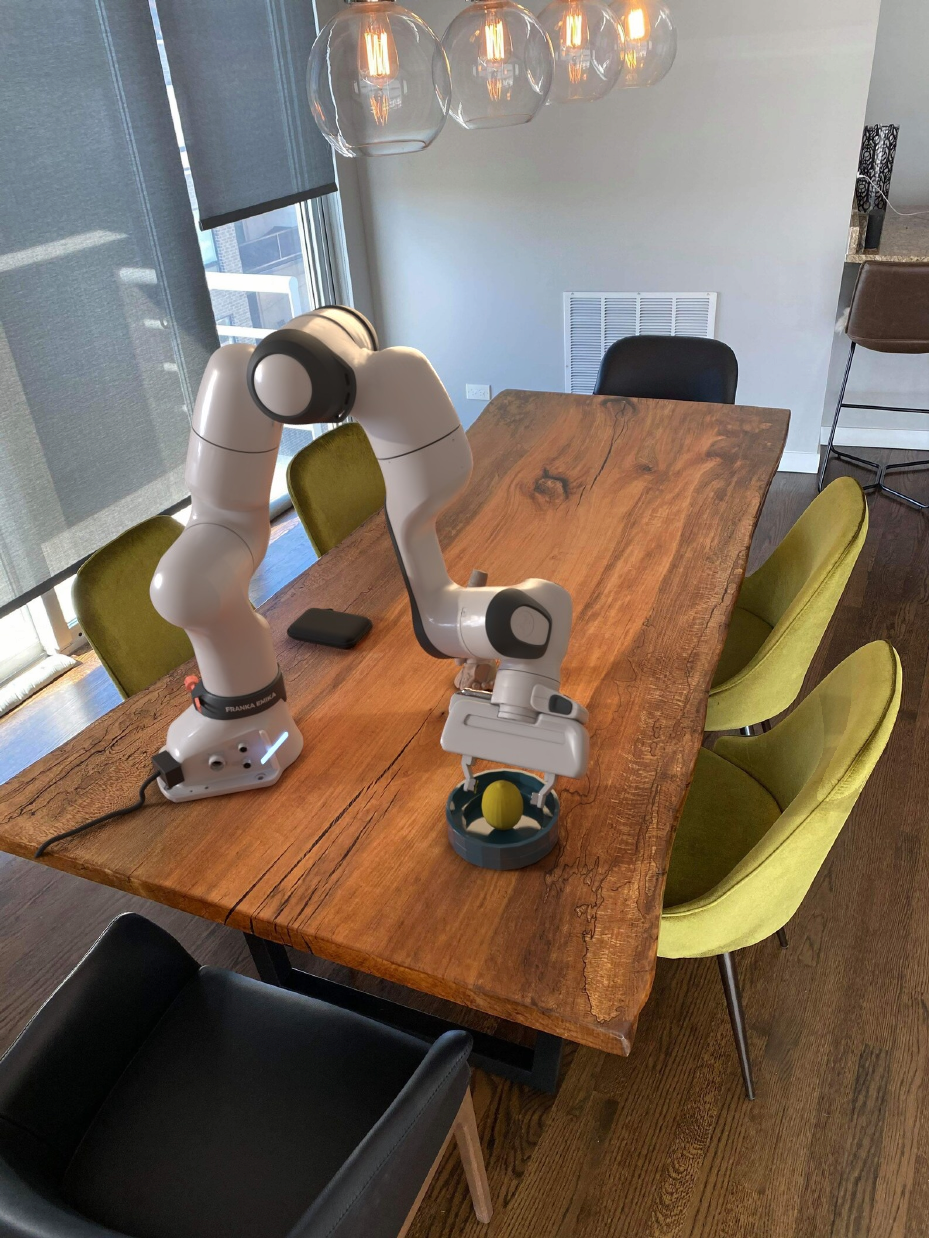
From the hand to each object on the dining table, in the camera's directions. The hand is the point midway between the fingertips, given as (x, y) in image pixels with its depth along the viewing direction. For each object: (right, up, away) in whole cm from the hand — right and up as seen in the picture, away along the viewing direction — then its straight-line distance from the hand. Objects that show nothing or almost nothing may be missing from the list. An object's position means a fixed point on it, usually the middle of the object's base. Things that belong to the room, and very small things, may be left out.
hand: (502, 799), depth 121 cm
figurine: (-3, +13, +34) cm, 36 cm away
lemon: (0, -5, +3) cm, 5 cm away
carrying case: (-30, +21, +50) cm, 62 cm away
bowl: (0, -5, +3) cm, 6 cm away
